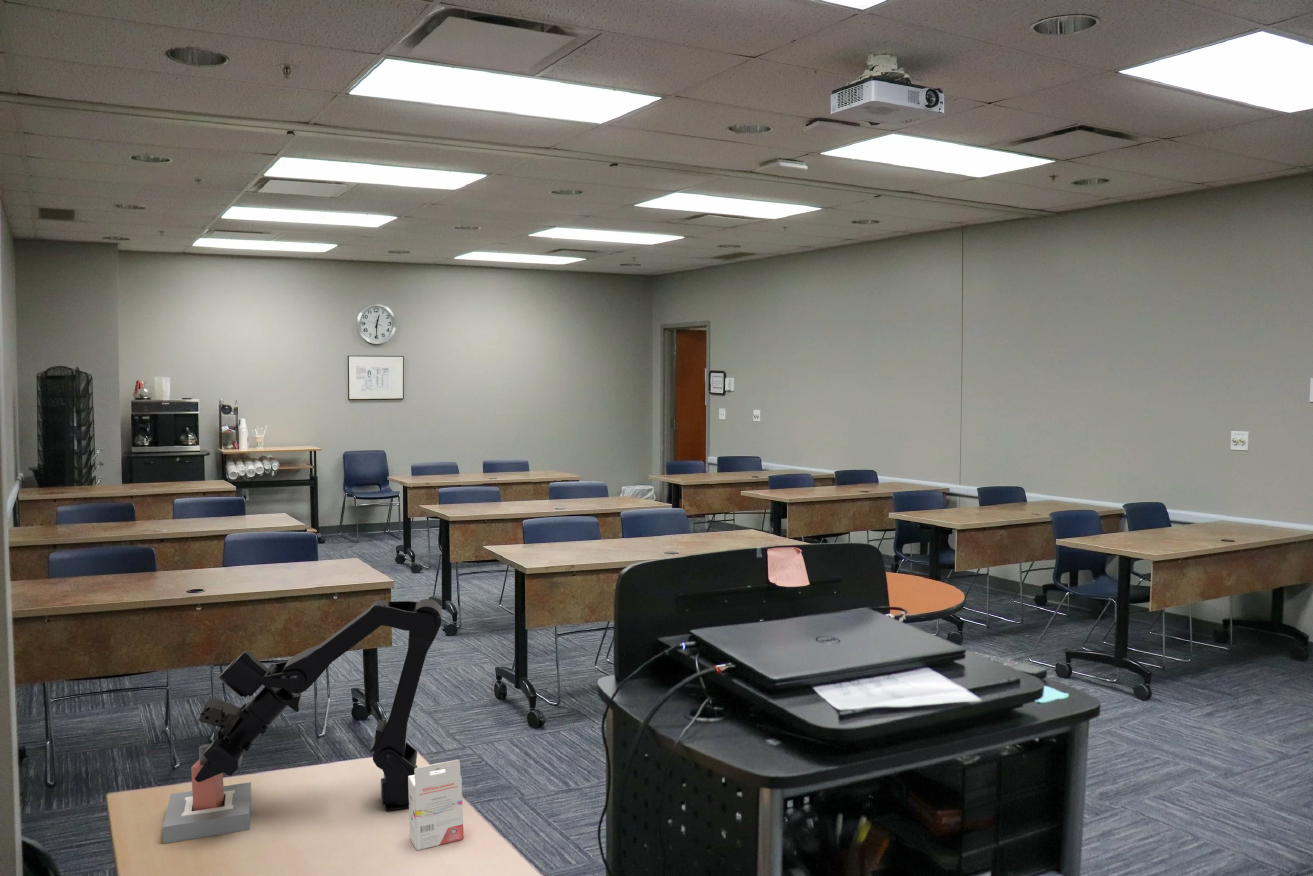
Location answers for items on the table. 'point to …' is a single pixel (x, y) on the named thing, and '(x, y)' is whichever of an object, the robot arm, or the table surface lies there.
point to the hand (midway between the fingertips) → (200, 775)
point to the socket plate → (207, 815)
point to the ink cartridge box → (435, 805)
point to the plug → (206, 786)
